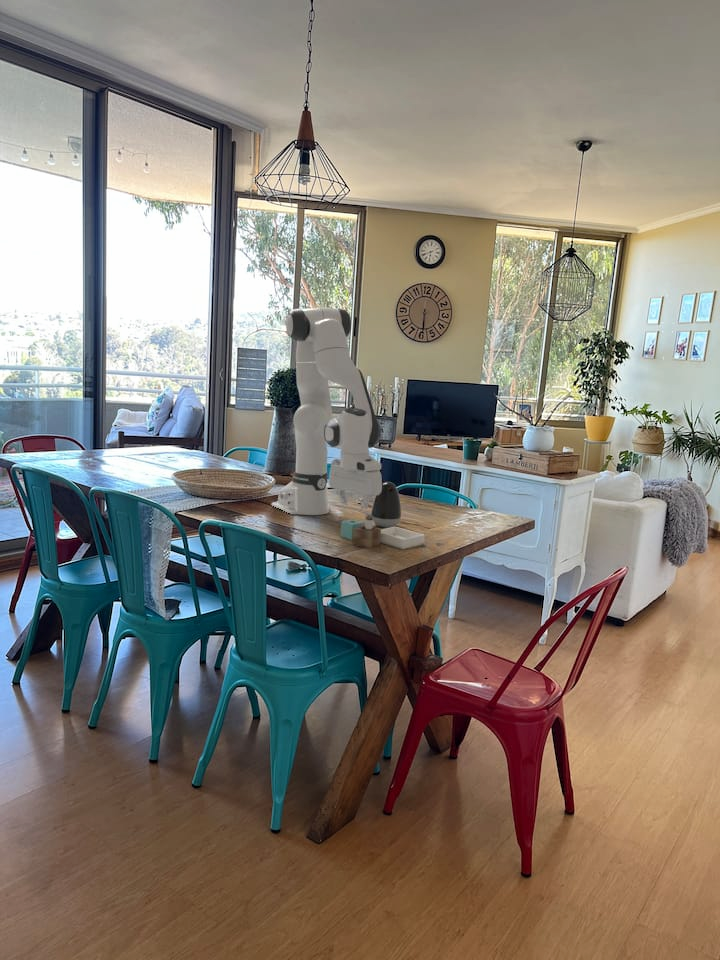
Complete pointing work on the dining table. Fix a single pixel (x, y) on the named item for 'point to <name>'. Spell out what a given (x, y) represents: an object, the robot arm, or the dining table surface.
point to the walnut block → (366, 536)
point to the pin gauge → (369, 522)
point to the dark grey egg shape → (387, 506)
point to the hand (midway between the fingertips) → (354, 505)
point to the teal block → (349, 528)
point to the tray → (401, 537)
